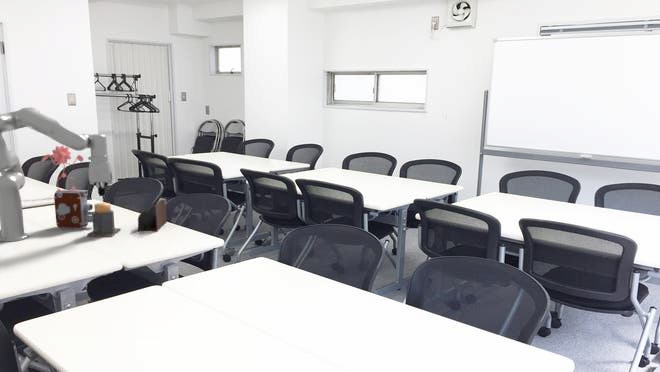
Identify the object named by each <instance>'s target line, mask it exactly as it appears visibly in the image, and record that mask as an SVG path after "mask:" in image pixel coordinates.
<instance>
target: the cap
mask: <svg viewBox="0 0 660 372" xmlns="http://www.w3.org/2000/svg"><path fill="white" fill-rule="evenodd" d="M93 206H94V207H93V208H94V211H95V213H96V214H105V213H110V212H111V210H112V209H111V206H112V205H111V203H110V202H99V203H95V204H94V205H93Z"/></svg>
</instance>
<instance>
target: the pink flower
mask: <svg viewBox="0 0 660 372" xmlns="http://www.w3.org/2000/svg"><path fill="white" fill-rule="evenodd" d="M64 146H65V145H60V146H58V145H56V146H55V149H52V154H51V153H47V154H46V155H44V156H43V157H42V158H41V163H42V162H43V163H44V161H46V160H48V158H50V159H51V161H52V162H53V163H52V164H53V165H55V166H56V165H57V166H58V165H63V171H62V172H63V173H62V174H61V176H60V177H59V178H58V179H57V180H56V184H57V186H59V180H60V179H61V178H66V177H67V178H70V179H72V180H74V177H70V176H67V173H65V169H66V165H70V166H71V165H72V166H73V165H74V164H75V163H76V161H77V160H78V161H79V162H81V163H82V162H83V161H84V157H83V156H82V155H80V154H78V155H77V156H76V158H75V160H74V161H73V163H68V160H71V159H72V158H71V155H72V152H71V151H69V149H70V148H69V147H67V146H65V147H64ZM50 154H51V155H50ZM57 162H58V163H57ZM65 164H66V165H65ZM70 190H77V189H76V187H75V186H72V187H70ZM58 191H61V189H60V188H59V187H57V190H56V191H55V192H58ZM48 197H49V198H50V197H51V195H49V196H48Z"/></svg>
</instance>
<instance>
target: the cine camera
mask: <svg viewBox="0 0 660 372" xmlns="http://www.w3.org/2000/svg"><path fill="white" fill-rule="evenodd" d="M88 191H89V190H87V189H85V190H84V189H76V190H71V189H62V190H61V189H60V191H58V192H56V191H55V192H54V194H53V195H54V196H53V201H54V211H55V223H56V227H57V228H59V229H83V228H86V227H87V226H88V225H89V223H93V218H92V212H93V211H92V210H93V208H94V207H93V206H94V205H93V204H92V203H88V194H89V192H88Z"/></svg>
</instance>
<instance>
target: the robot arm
mask: <svg viewBox="0 0 660 372" xmlns="http://www.w3.org/2000/svg"><path fill="white" fill-rule="evenodd" d="M22 128H29V129H31V130H33V131H35V132H38V133H40V134H42V135H44V136H46V137H48V138H49V139H51V140H53V141H55V142H57V143H58V144H60V145H61V146H65V147H68V148H69V149H72V150H74V151H78V152H79V151H83V150H84V151H85V150H86V149H90V156H88V157H87V159H88V160H89V161H90V162H89V165H88V181H89V184H90V185H93V186H95V187H96V188H97V193H98V195H99V197H104V196H106V192H107V191H106V187H107V186H108V185H112V184H113V171H112V167H111V163H110V161H109V159H108V158H109V156H108V155H109V154H108V144H107V136H106V134H100V133H95V134H87V133H79V134H78V133H76V132H73V131H71V130H70V129H68V128H65V127H64V126H63V125H61V124H60V122H59V121H57V120H56V119H54V118H52V117H49V116H48V115H45V114H43V113H41V112H40V110H38V109H37V108H35V107H23V108H21V109H19V110H16V111H10V112H6V113H0V174H1V175H0V242H17V241H21V240H25V239H27V238H28V237H29V233H26V232H25V224H24V223H25V222H24V215H23V213H24V212H23V205H22V198H21V193H20V190H21V189H23V187H24V186H25V184H26V178H25V174H24V171H23V168H22V164H21V162H20V159H19V157H18V156H17V154H16V153H15V152H13V151H12V150H8V146H7V143H6V141H5V138H4V137H3V133H6V132H11V131H15V130H20V129H22Z"/></svg>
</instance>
